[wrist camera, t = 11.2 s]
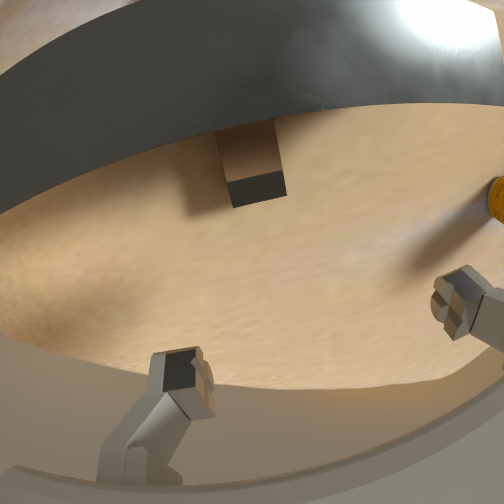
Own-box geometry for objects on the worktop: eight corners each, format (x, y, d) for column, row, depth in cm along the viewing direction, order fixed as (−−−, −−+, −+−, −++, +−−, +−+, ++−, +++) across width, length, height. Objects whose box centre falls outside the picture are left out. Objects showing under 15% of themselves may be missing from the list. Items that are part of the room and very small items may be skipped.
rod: (178, -26, 15) (172, -45, 11) (227, -36, 15) (230, -56, 11) (229, 191, 25) (233, 208, 21) (275, 180, 25) (286, 195, 21)
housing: (55, 99, 18) (-51, 121, 7) (384, 28, 18) (493, 11, 7) (73, 160, 21) (-18, 224, 10) (395, 88, 21) (507, 106, 10)
